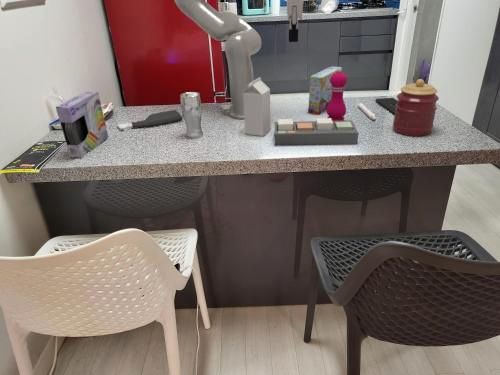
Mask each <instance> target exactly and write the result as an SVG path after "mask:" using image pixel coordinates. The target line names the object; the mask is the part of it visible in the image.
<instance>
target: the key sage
mask: <svg viewBox="0 0 500 375" xmlns="http://www.w3.org/2000/svg"><path fill="white" fill-rule="evenodd" d="M335 128H336V130H350V129H353V126H352V124H351V122H335Z"/></svg>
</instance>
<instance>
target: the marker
mask: <svg viewBox="0 0 500 375" xmlns="http://www.w3.org/2000/svg"><path fill="white" fill-rule="evenodd" d="M357 108H359V110H361V112H363V114H364V115H366V117H368V119H370V120H371V121H375V120H376V118H377V117H376V115H375V114H374V113H373V111H371V110H370V109H369V108H368V107H367V106H365V104H363V102H359V103H358V104H357Z"/></svg>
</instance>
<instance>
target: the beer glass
mask: <svg viewBox="0 0 500 375" xmlns="http://www.w3.org/2000/svg"><path fill="white" fill-rule="evenodd" d="M200 96H201V95H200V92H194V91H190V92H189V91H188V92H184V93H181V94H180V107H181V113H182V118H184V123H185V128H186V134H185V135H186V136H185V137H187V138H189V139H198V138H202V137H203V136H204V131H203V129H202V112H203V110H202V103H201V102H202V100H201V97H200Z"/></svg>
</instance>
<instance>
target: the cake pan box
mask: <svg viewBox="0 0 500 375" xmlns="http://www.w3.org/2000/svg"><path fill="white" fill-rule="evenodd" d="M99 94H100V93H99V91H97V90H86V91H84V92H82V93H80V94H78V95H75V96H73V97H71V98H69V99H68V100H66V101H64V102H62V103H60V104H58V105H56V106H55V110H56V114H57V117H58V121H59V123H60V127H61V130H62V133H63V137H64V141H65V144H66V147H67V150H68V154H69V157H70V158H71V157H77V158H76V159H83V158H84V157H85V156H87V155H88V154H89V153H90V152H92V151H93V150H94V149H95V148H97V147H98V146H99V145H101V142H102V143H103V142H104V141H106V139H108V138H109V134H108V129H107V124H106V120H105V116H104V111H103V107H102V103H101V99H100V95H99ZM96 146H97V147H96ZM92 149H93V150H92ZM91 150H92V151H91ZM88 152H89V153H88ZM87 153H88V154H87ZM86 154H87V155H86ZM84 155H85V156H84ZM83 156H84V157H83ZM82 157H83V158H82Z"/></svg>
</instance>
